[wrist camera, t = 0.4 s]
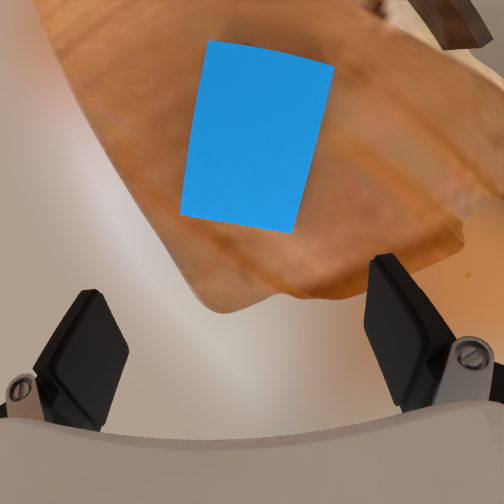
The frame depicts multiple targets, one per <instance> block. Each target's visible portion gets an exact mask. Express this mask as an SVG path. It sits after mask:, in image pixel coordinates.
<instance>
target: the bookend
mask: <svg viewBox="0 0 504 504" xmlns="http://www.w3.org/2000/svg"><path fill="white" fill-rule="evenodd" d="M408 1H409V2H410V3H411V5H412V6H413V7H414V9H415V10H416V11H417V12H418V14H419V15H420V17H421V18H422V19H423V21H424V22H425V23H426V25H427V26H428V28H429V29H430V31H431V32H432V34H433V35H434V37H435V38H436V40H437V41H438V43H439V44H440V46H441V47H442V49H443V50H455V49H472V48H482V47H483V46H485V45H486V44H487V43H489V42H490V41H491V40H493V38H492V36H491V34H490V32H489V30H488V29H487V27H486V25H485V23H484V22H483V20H482V18H481V17H480V15H479V13H478V12H477V10H476V9H475V7H474V6H473V4H472V3H471V1H470V0H408Z"/></svg>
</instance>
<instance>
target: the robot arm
mask: <svg viewBox="0 0 504 504" xmlns="http://www.w3.org/2000/svg"><path fill="white" fill-rule="evenodd" d="M364 329H365V332H366V335H367V337H368V339H369V342H370V344H371V346H372V349H373V351H374V354H375V356H376V359H377V361H378V363H379V366H380V368H381V371H382V373H383V376H384V379H385V381H386V384H387V386H388V389H389V391H390V394H391V397H392V399H393V402H394V404H395V405H396V406H399V405H400V408H401V410H402V413H401V414H397V415H394V416H390V417H386V418H382V419H377V420H373V421H369V422H364V423H360V424H354V425H349V426H344V427H339V428H334V429H328V430H322V431H316V432H309V433H303V434H295V435H286V436H277V437H267V438H252V439H234V440H175V439H158V438H144V437H134V436H125V435H117V434H109V433H102V432H100V430H101V427H102V426H103V425H104V424H105V423H106V419H107V416H108V413H109V410H110V406H111V404H112V401H113V398H114V395H115V392H116V389H117V386H118V383H119V380H120V377H121V374H122V371H123V369H124V366H125V363H126V360H127V357H128V354H129V348H128V345H127V343H126V341H125V339H124V337H123V335H122V333H121V331H120V329H119V327H118V325H117V323H116V322H115V319H114V317H113V315H112V313H111V311H110V309H109V307H108V305H107V302H106V300H105V298H104V296H103V294H102V293H99V291H98V290H96V289H91V290H82V291H81V292H80V293H79V295H78V296H77V298H76V299H75V301H74V302H73V304H72V305H71V307H70V308H69V310H68V311H67V313H66V314H65V316H64V317H63V319H62V321H61V322H60V324H59V325H58V327H57V328H56V330H55V331H54V333H53V335H52V336H51V338H50V340H49V341H48V343H47V345H46V346H45V348H44V349H43V351H42V353H41V355H40V356H39V358H38V360H37V362H36V363H35V365H34V367H33V370H34V371H35V373H36V374H37V377H36V379H35V378H34V376H32V375H31V374H27V373H26V374H21V375H19V376H17V377H16V378H14V379H13V380H12V381H11V382H10V384H9V386H8V388H7V390H6V402H5V403H4V404H2V405H0V504H504V365H502V364H499V363H496V362H494V353H493V351H492V349H491V347H490V346H489V345H488V344H487V343H486V342H485V341H483V340H482V339H479V338H477V337H473V336H464V337H461V338H458V339H456V337H455V336H454V334H453V333H452V331H451V330H450V328H449V327H448V325H447V324H446V323H445V321H444V320H443V318H442V317H441V315H440V314H439V312H438V311H437V310H436V308H435V307H434V305H433V304H432V303H431V301H430V300H429V298H428V297H427V296H426V294H425V293H424V292H423V291H422V289H420V288H419V287H418V285H417V284H416V283H415V281H414V280H413V279H412V277H411V276H410V275H409V273H408V272H407V271H406V270H405V268H404V267H403V266H402V265H401V263H400V262H399V261H398V260H397V258H396V257H395V256H394V255H393V254H392V253H389V254H382V255H376V256H375V258H374V260H371V261H370V265H369V277H368V288H367V298H366V308H365V315H364ZM84 429H86V430H84Z"/></svg>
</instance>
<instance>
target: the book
mask: <svg viewBox="0 0 504 504" xmlns="http://www.w3.org/2000/svg"><path fill="white" fill-rule="evenodd" d="M333 72H334V66H331V65H328V64H324V63H321V62H318V61H314V60H310V59H307V58H303V57H299V56H295V55H291V54H287V53H282V52H278V51H273V50H268V49H263V48H258V47H252V46H247V45H241V44H234V43H227V42H219V41H211V40H209V41H208V46H207V50H206V55H205V60H204V64H203V69H202V74H201V79H200V84H199V89H198V95H197V100H196V106H195V111H194V117H193V123H192V129H191V136H190V142H189V149H188V156H187V163H186V170H185V178H184V186H183V194H182V202H181V211H180V215H184V216H190V217H196V218H203V219H209V220H215V221H221V222H227V223H233V224H239V225H245V226H250V227H256V228H262V229H268V230H273V231H279V232H285V233H290V234H291V233H292V231H293V227H294V224H295V220H296V217H297V213H298V209H299V206H300V202H301V199H302V195H303V191H304V188H305V184H306V180H307V176H308V173H309V169H310V165H311V161H312V157H313V154H314V150H315V146H316V142H317V138H318V134H319V130H320V126H321V122H322V118H323V114H324V110H325V106H326V102H327V98H328V94H329V89H330V85H331V81H332V77H333Z"/></svg>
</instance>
